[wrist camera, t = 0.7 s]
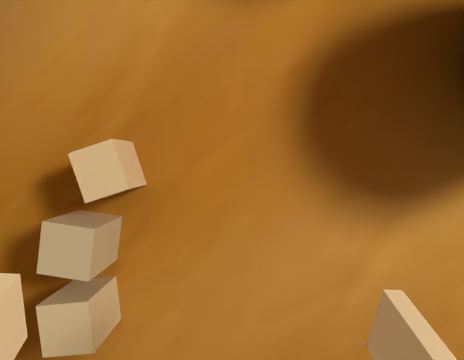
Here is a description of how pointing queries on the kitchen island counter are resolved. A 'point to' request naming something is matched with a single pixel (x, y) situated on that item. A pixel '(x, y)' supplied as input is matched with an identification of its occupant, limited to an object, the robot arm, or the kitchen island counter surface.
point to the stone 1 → (107, 169)
